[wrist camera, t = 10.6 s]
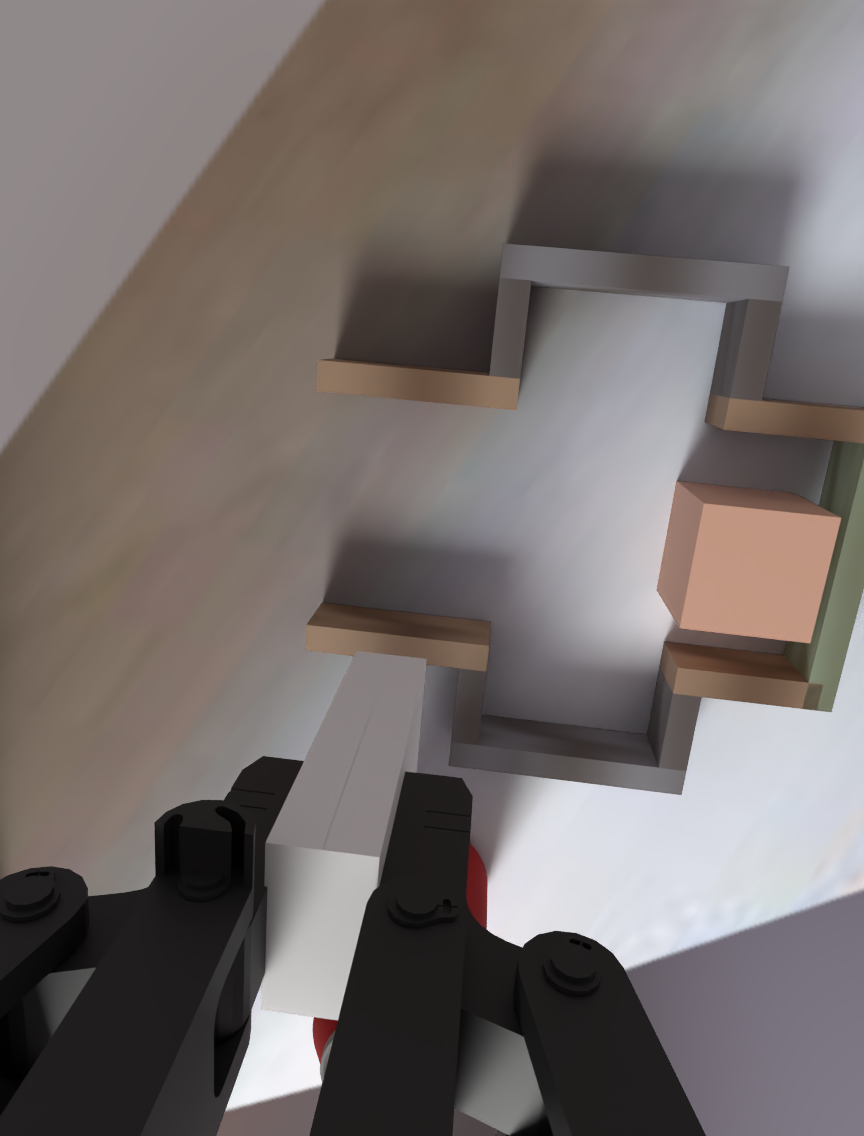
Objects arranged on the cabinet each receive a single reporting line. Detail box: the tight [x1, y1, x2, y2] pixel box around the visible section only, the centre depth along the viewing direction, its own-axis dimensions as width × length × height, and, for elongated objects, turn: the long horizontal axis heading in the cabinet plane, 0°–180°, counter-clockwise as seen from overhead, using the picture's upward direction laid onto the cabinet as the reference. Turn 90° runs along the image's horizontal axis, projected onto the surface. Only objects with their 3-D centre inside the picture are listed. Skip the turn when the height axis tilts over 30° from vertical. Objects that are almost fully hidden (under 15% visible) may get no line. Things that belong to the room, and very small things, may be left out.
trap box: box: [305, 243, 864, 795], centre depth 33 cm, size 23×22×3 cm
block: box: [657, 481, 841, 643], centre depth 32 cm, size 5×5×5 cm
